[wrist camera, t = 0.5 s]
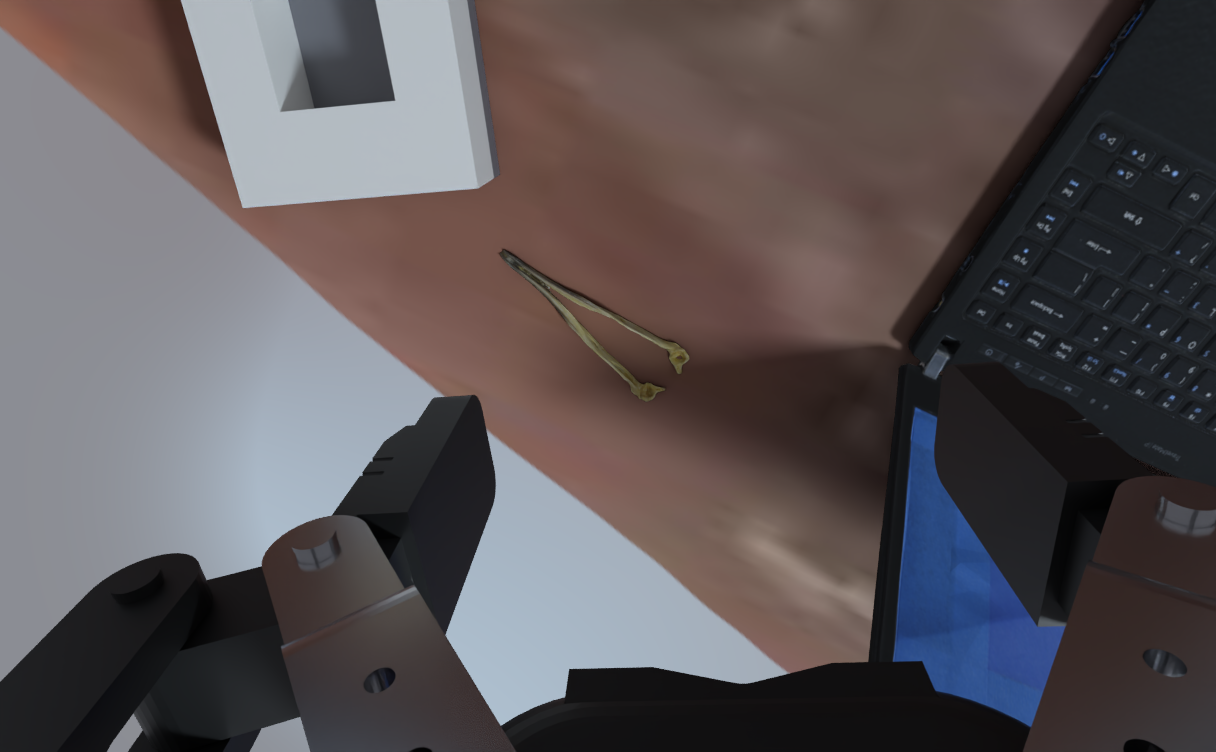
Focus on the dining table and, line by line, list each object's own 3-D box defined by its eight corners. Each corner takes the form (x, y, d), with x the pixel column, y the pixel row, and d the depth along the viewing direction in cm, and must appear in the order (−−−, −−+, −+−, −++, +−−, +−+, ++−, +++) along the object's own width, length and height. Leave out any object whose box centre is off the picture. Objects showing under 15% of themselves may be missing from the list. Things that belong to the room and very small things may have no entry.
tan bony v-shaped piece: (512, 230, 39) (506, 239, 37) (694, 347, 42) (697, 360, 40) (477, 288, 41) (470, 299, 39) (655, 397, 43) (656, 412, 42)
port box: (206, -103, 33) (134, -132, 28) (454, -136, 32) (420, -171, 27) (286, 192, 38) (237, 208, 34) (500, 174, 37) (478, 188, 33)
